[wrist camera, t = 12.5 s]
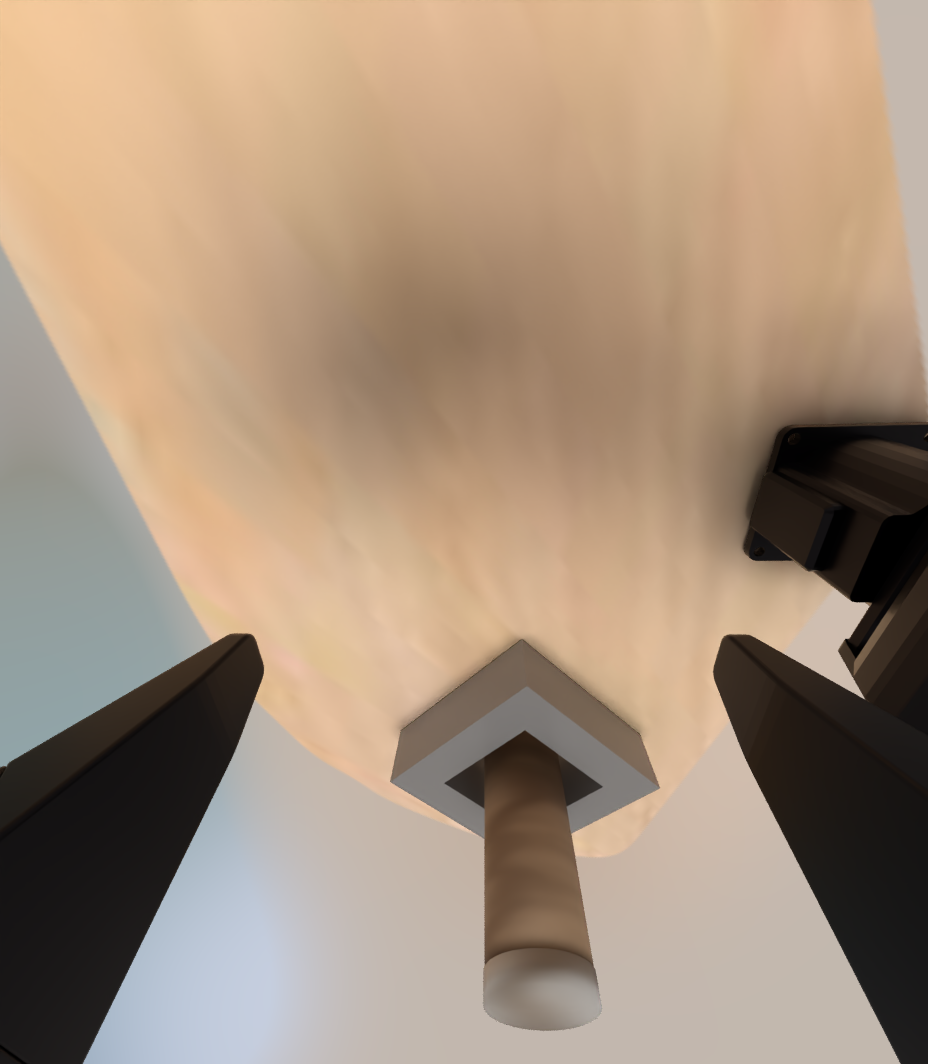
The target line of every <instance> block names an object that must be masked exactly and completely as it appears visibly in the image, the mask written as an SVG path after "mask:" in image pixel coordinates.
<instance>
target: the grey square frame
mask: <svg viewBox="0 0 928 1064" xmlns="http://www.w3.org/2000/svg"><path fill="white" fill-rule="evenodd" d="M525 730H526V731H527V732H528V733H530V734H531V735H532V736H534V737H535V738H537V739H538V740H539V741H541V742H542V743H544V744H545V745H546V746H548V747H549V748H550V749H552V750H553V751H555V752H556V753H557V754H558V758H559V764H560V770H561V776H562V782H563V788H564V794H565V800H566V806H567V812H568V818H569V824H570V830H571V833H573V832H575V831H577V830H579V829H581V828H583V827H585V826H587V825H589V824H591V823H593V822H595V821H597V820H599V819H601V818H603V817H605V816H607V815H609V814H611V813H612V812H614V811H616V810H618V809H620V808H622V807H624V806H626V805H628V804H630V803H632V802H634V801H636V800H638V799H640V798H642V797H644V796H646V795H648V794H650V793H652V792H654V791H656V790H658V789H659V788H660V787H659V784H658V781H657V779H656V776H655V773H654V771H653V768H652V765H651V763H650V760H649V757H648V755H647V752H646V749H645V746H644V744H643V741H642V738H641V736H640V734H638V733H637V732H636V731H635V730H633V729H632V728H631V727H630V726H628V725H627V724H626V723H625V722H624V721H622V720H621V719H620V718H619V717H617V716H616V715H615V714H614V713H612V712H611V711H610V710H609V709H607V708H606V707H605V706H604V705H602V704H601V703H600V702H599V701H597V700H596V699H595V698H594V697H593V696H591V695H590V694H589V693H588V692H586V691H585V690H584V689H583V688H581V687H580V686H579V685H578V684H576V683H575V682H574V681H573V680H571V679H570V678H569V677H568V676H567V675H565V674H564V673H563V672H562V671H560V670H559V669H558V668H557V667H555V666H554V665H553V664H552V663H550V662H549V661H548V660H547V659H545V658H544V657H543V656H542V655H540V654H539V653H538V652H537V651H536V650H534V649H533V648H532V647H531V646H529V645H528V644H527V643H526V642H524V641H523V640H520V641H519V642H518V643H516V644H515V645H514V646H512V647H511V648H510V649H508V650H507V651H506V652H504V653H503V654H502V655H500V656H499V657H498V658H497V659H495V660H494V661H493V662H491V663H490V664H489V665H487V666H486V667H485V668H483V669H482V670H481V671H479V672H478V673H477V674H475V675H474V676H473V677H471V678H470V679H469V680H467V681H466V682H465V683H464V684H462V685H461V686H460V687H458V688H457V689H456V690H454V691H453V692H452V693H450V694H449V695H448V696H446V697H445V698H444V699H442V700H441V701H440V702H438V703H437V704H436V705H434V706H433V707H432V708H430V709H429V710H428V711H427V712H425V713H424V714H423V715H421V716H420V717H419V718H417V719H416V720H415V721H413V722H412V723H411V724H409V725H408V726H407V727H405V728H404V729H403V730H401V732H400V737H399V742H398V747H397V751H396V756H395V761H394V766H393V771H392V776H391V780H390V782H391V783H393V784H394V785H396V786H398V787H399V788H401V789H403V790H404V791H406V792H408V793H409V794H411V795H413V796H414V797H416V798H418V799H419V800H421V801H423V802H424V803H426V804H428V805H429V806H431V807H433V808H434V809H436V810H438V811H439V812H441V813H443V814H444V815H446V816H447V817H449V818H451V819H452V820H454V821H456V822H457V823H459V824H461V825H462V826H464V827H466V828H467V829H469V830H471V831H472V832H474V833H476V834H477V835H479V836H481V837H482V838H484V839H485V808H484V757H485V756H486V755H488V754H489V753H491V752H492V751H494V750H495V749H497V748H499V747H500V746H502V745H503V744H505V743H506V742H508V741H509V740H511V739H512V738H514V737H515V736H517V735H518V734H520V733H522V732H523V731H525Z"/></svg>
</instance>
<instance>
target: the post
mask: <svg viewBox="0 0 928 1064" xmlns="http://www.w3.org/2000/svg"><path fill="white" fill-rule="evenodd" d="M484 808H485V966H484V972H483V975H484V977H483V979H484V981H483V992H484V993H483V1004H484V1005H483V1006H484V1010H485V1012H486V1013H487V1014H488V1015H489V1016H490V1017H492V1018H493V1019H495V1020H497V1021H499V1022H501V1023H504V1024H506V1025H510V1026H513V1027H517V1028H522V1029H529V1030H542V1031H545V1030H546V1031H549V1030H550V1031H551V1030H564V1029H570V1028H575V1027H579V1026H583V1025H585V1024H588V1023H590V1022H592V1021H593V1020H595V1019H596V1018H597V1017H598V1016H599V1015H600V1014H601V1011H602V1005H601V1000H600V994H599V988H598V982H597V976H596V971H595V968H594V966H593V960H592V954H591V948H590V942H589V936H588V930H587V925H586V919H585V913H584V907H583V901H582V895H581V889H580V883H579V877H578V871H577V866H576V859H575V853H574V847H573V841H572V835H571V830H570V824H569V818H568V812H567V806H566V800H565V794H564V788H563V782H562V776H561V770H560V764H559V758H558V754H557V753H556V752H555V751H553V750H552V749H550V748H549V747H548V746H546V745H545V744H544V743H542V742H541V741H539V740H538V739H537V738H535V737H534V736H532V735H531V734H530V733H528V732H527V731H526V730H525V731H523V732H522V733H520V734H518V735H517V736H515V737H514V738H512V739H511V740H509V741H508V742H506V743H505V744H503V745H502V746H500V747H499V748H497V749H495V750H494V751H492V752H491V753H489V754H488V755H486V756H485V757H484Z"/></svg>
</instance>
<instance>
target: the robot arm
mask: <svg viewBox="0 0 928 1064" xmlns="http://www.w3.org/2000/svg"><path fill="white" fill-rule="evenodd" d="M927 432H928V422H916V423H871V424H827V425H791V426H787V427H785V428H783V429H782V430H781V431H780V432H779V433H778V435H777V437H776V441H775V444H774V448H773V451H772V455H771V458H770V461H769V465H768V468H767V472H766V474H765V476H764V477H763V479H762V483H761V486H760V490H759V493H758V497H757V500H756V504H755V507H754V511H753V514H752V517H751V521H750V526H751V527H750V530H749V534H748V537H747V541H746V544H745V548H744V552H745V554H746V555H747V556H748V557H749V558H751V559H752V560H755V561H795V562H796V563H797V564H799V565H800V566H801V567H802V568H804V569H805V570H807V571H813V572H814V573H815V574H817V575H818V576H819V577H821V578H822V579H823V580H825V581H826V582H827V583H828V584H830V585H831V586H832V587H834V588H835V589H836V590H838V591H839V592H840V593H842V594H843V595H844V596H845V597H847V598H848V599H849V600H851V601H852V602H865V603H866V604H868V605H869V606H870V607H869V608H868V610H867V611H866V613H865V615H864V616H863V618H862V619H861V621H860V623H859V624H858V626H857V627H856V629H855V631H854V632H853V634H852V635H851V637H850V638H849V639H845V640H844V642H843V643H842V645H841V646H840V648H839V650H838V652H839V653H840V655H841V657H842V659H843V661H844V662H845V664H846V666H847V668H848V670H849V671H850V673H851V675H852V677H853V678H854V680H855V682H856V684H857V685H858V687H859V689H860V691H861V693H862V694H863V696H864V698H865V699H863V698H861V697H859V696H858V695H856V694H854V693H852V692H850V691H848V690H847V689H845V688H843V687H841V686H840V685H838V684H836V683H834V682H833V681H831V680H829V679H827V678H825V677H824V676H822V675H820V674H818V673H817V672H815V671H813V670H811V669H810V668H808V667H806V666H804V665H802V664H801V663H799V662H797V661H795V660H793V659H791V658H790V657H788V656H786V655H785V654H783V653H781V652H779V651H778V650H776V649H774V648H772V647H770V646H769V645H767V644H765V643H763V642H762V641H760V640H758V639H756V638H754V637H753V636H750V635H733V634H729V635H726V636H724V638H723V639H722V641H721V644H720V647H719V651H718V654H717V658H716V661H715V664H714V669H713V674H714V680H715V683H716V685H717V688H718V690H719V693H720V696H721V698H722V701H723V703H724V706H725V708H726V711H727V714H728V716H729V719H730V721H731V724H732V726H733V729H734V731H735V734H736V737H737V739H738V742H739V744H740V747H741V749H742V752H743V754H744V756H745V759H746V761H747V763H748V765H749V767H750V769H751V771H752V773H753V775H754V777H755V779H756V781H757V783H758V785H759V787H760V789H761V791H762V793H763V795H764V797H765V799H766V801H767V803H768V805H769V807H770V809H771V811H772V813H773V815H774V817H775V819H776V821H777V822H778V824H779V826H780V828H781V830H782V832H783V834H784V836H785V838H786V840H787V842H788V844H789V846H790V848H791V850H792V852H793V854H794V856H795V858H796V860H797V862H798V863H799V865H800V868H801V869H802V871H803V873H804V875H805V877H806V879H807V881H808V883H809V885H810V887H811V889H812V891H813V893H814V895H815V897H816V899H817V901H818V903H819V905H820V907H821V909H822V911H823V913H824V915H825V916H826V918H827V920H828V922H829V924H830V926H831V928H832V930H833V932H834V934H835V936H836V938H837V940H838V942H839V944H840V946H841V948H842V950H843V952H844V954H845V956H846V958H847V959H848V962H849V963H850V966H851V967H852V969H853V971H854V973H855V975H856V977H857V979H858V981H859V983H860V985H861V987H862V989H863V991H864V993H865V994H866V997H867V999H868V1001H869V1003H870V1005H871V1007H872V1009H873V1011H874V1012H875V1014H876V1016H877V1018H878V1020H879V1022H880V1024H881V1026H882V1028H883V1030H884V1032H885V1034H886V1036H887V1038H888V1040H889V1042H890V1044H891V1046H892V1048H893V1049H894V1052H895V1054H896V1056H897V1058H898V1059H899V1062H900V1063H901V1064H928V435H927V436H926V437H925V438H924V436H925V434H926V433H927ZM794 433H795V437H794V439H793V440H792V441H791V442H788V439H789V437H790V436H791V435H792V434H794ZM759 547H760V549H759V550H758V551H757V552H754V551H755V549H757V548H759ZM263 674H264V665H263V661H262V658H261V655H260V652H259V649H258V645H257V642H256V639H255V637H254V636H253V635H251V634H238V633H234V634H229V635H227V636H225V637H224V638H222V639H220V640H219V641H217V642H215V643H213V644H212V645H210V646H208V647H207V648H205V649H203V650H201V651H200V652H198V653H196V654H195V655H193V656H191V657H190V658H188V659H186V660H185V661H183V662H181V663H179V664H177V665H176V666H174V667H172V668H171V669H169V670H167V671H165V672H164V673H162V674H160V675H159V676H157V677H155V678H153V679H152V680H150V681H148V682H147V683H145V684H143V685H141V686H140V687H138V688H136V689H134V690H133V691H131V692H129V693H128V694H126V695H124V696H122V697H121V698H119V699H117V700H116V701H114V702H112V703H111V704H109V705H107V706H106V707H104V708H102V709H100V710H99V711H97V712H95V713H93V714H92V715H90V716H88V717H86V718H85V719H83V720H81V721H79V722H78V723H76V724H74V725H73V726H71V727H69V728H67V729H66V730H64V731H63V732H61V733H59V734H57V735H55V736H54V737H52V738H50V739H49V740H47V741H46V742H43V743H42V744H40V745H38V746H37V747H35V748H33V749H31V750H30V751H28V752H26V753H24V754H23V755H21V756H19V757H18V758H16V759H14V760H12V761H11V762H9V763H8V765H7V767H6V766H3V767H0V1064H83V1062H84V1060H85V1058H86V1056H87V1054H88V1052H89V1050H90V1048H91V1046H92V1044H93V1042H94V1040H95V1038H96V1035H97V1034H98V1031H99V1029H100V1027H101V1025H102V1023H103V1021H104V1019H105V1017H106V1015H107V1013H108V1011H109V1009H110V1007H111V1005H112V1003H113V1001H114V999H115V997H116V995H117V992H118V991H119V988H120V986H121V984H122V982H123V980H124V978H125V976H126V974H127V972H128V970H129V968H130V966H131V964H132V962H133V960H134V958H135V956H136V953H137V952H138V949H139V947H140V945H141V943H142V941H143V939H144V937H145V935H146V933H147V931H148V929H149V927H150V925H151V923H152V921H153V919H154V916H155V915H156V913H157V911H158V909H159V907H160V904H161V902H162V900H163V898H164V896H165V894H166V892H167V890H168V888H169V886H170V884H171V882H172V880H173V878H174V876H175V874H176V872H177V869H178V868H179V865H180V864H181V861H182V859H183V857H184V855H185V853H186V851H187V849H188V847H189V845H190V843H191V841H192V839H193V837H194V835H195V833H196V831H197V829H198V827H199V825H200V822H201V820H202V818H203V816H204V814H205V812H206V810H207V808H208V806H209V804H210V802H211V799H212V798H213V796H214V793H215V792H216V790H217V787H218V786H219V783H220V782H221V779H222V777H223V775H224V773H225V771H226V769H227V767H228V765H229V763H230V761H231V759H232V757H233V754H234V752H235V749H236V747H237V745H238V742H239V740H240V737H241V735H242V732H243V729H244V727H245V724H246V721H247V718H248V716H249V713H250V710H251V708H252V705H253V702H254V700H255V697H256V694H257V692H258V689H259V686H260V684H261V681H262V678H263Z"/></svg>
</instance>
